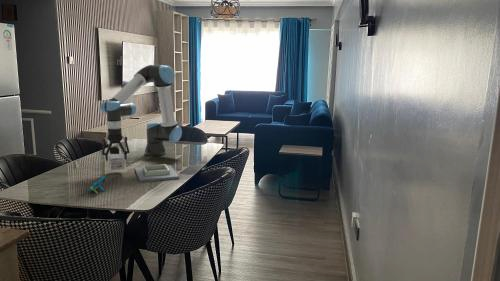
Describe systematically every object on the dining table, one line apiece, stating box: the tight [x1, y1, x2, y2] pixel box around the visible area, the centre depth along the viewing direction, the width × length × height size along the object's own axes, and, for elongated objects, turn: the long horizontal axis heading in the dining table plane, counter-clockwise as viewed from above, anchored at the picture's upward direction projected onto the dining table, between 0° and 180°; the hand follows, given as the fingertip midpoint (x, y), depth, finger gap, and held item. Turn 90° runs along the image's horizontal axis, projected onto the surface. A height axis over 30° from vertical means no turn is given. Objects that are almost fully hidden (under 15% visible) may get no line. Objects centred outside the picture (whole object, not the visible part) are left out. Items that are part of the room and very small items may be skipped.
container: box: [108, 145, 125, 171], centre depth 226 cm, size 8×8×13 cm
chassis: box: [134, 163, 180, 183], centre depth 228 cm, size 26×22×4 cm
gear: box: [88, 176, 106, 194], centre depth 195 cm, size 11×6×10 cm
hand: (116, 165), depth 227 cm, fingers closed on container, 8 cm apart
